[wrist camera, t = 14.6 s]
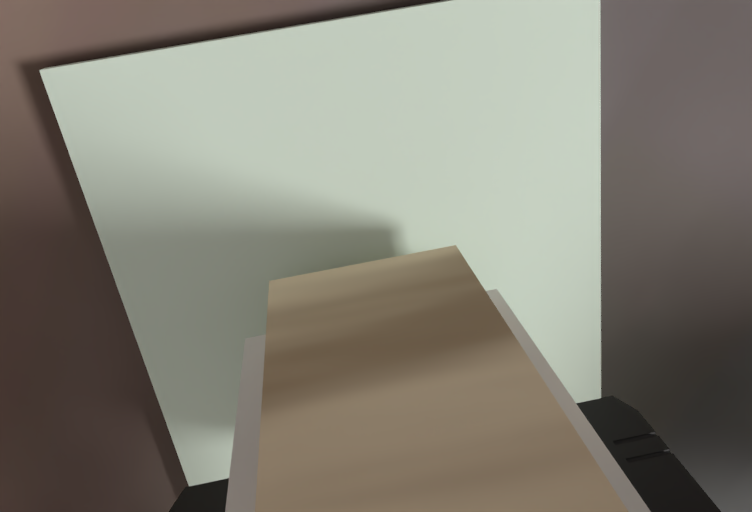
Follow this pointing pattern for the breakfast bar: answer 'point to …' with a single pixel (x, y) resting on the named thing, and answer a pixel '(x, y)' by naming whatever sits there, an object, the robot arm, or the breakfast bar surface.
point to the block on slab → (410, 399)
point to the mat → (341, 180)
